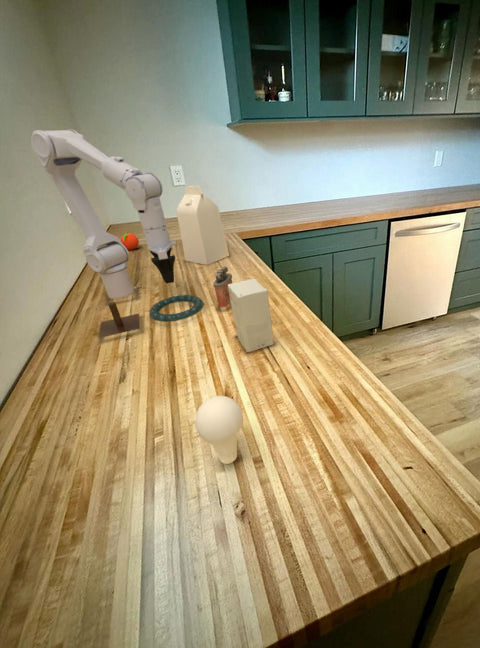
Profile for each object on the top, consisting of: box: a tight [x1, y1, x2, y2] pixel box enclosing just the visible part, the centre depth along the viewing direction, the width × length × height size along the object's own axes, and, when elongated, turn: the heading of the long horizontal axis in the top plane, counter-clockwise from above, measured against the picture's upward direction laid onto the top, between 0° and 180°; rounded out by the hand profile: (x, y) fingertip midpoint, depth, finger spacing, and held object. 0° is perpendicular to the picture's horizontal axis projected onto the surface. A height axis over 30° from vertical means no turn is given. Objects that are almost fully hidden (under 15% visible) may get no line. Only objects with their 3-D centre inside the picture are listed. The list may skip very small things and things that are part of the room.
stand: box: [98, 301, 140, 339], centre depth 82 cm, size 9×9×7 cm
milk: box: [176, 185, 230, 266], centre depth 123 cm, size 12×12×26 cm
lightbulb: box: [194, 395, 244, 465], centre depth 45 cm, size 6×6×11 cm
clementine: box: [120, 232, 140, 251], centre depth 145 cm, size 8×7×7 cm
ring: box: [149, 294, 205, 323], centre depth 89 cm, size 14×14×2 cm
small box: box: [228, 278, 275, 353], centre depth 72 cm, size 8×6×13 cm
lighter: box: [212, 265, 233, 308], centre depth 90 cm, size 8×3×10 cm, turn 168°
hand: (168, 277), depth 91 cm, fingers open, 7 cm apart
